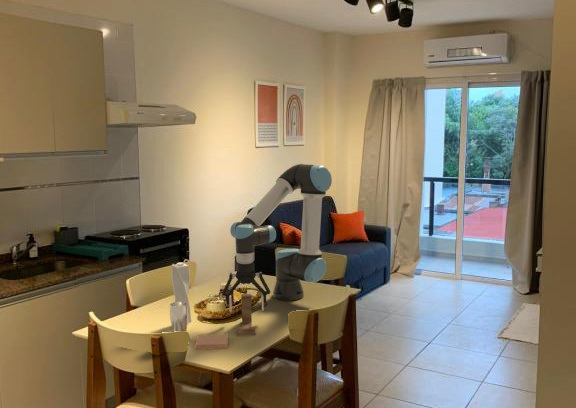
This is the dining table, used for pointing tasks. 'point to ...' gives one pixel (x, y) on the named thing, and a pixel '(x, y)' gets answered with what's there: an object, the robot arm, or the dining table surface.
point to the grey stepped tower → (246, 317)
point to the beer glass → (179, 316)
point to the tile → (212, 341)
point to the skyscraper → (181, 284)
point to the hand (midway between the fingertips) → (246, 310)
